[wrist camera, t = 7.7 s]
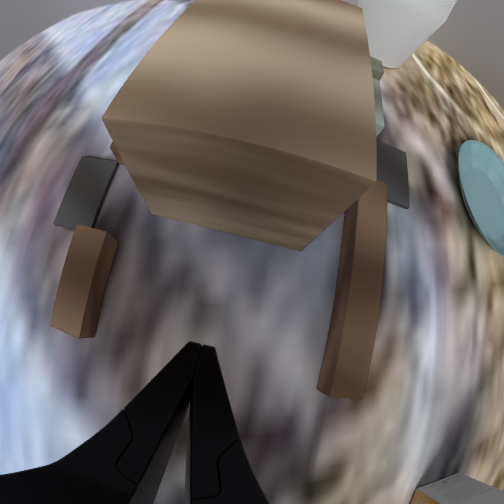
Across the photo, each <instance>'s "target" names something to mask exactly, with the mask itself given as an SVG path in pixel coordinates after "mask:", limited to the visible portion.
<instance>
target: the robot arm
mask: <svg viewBox="0 0 504 504" xmlns="http://www.w3.org/2000/svg"><path fill="white" fill-rule="evenodd" d="M189 404H190V408H189V420H188V435H187V453H186V476H185V504H269V502H268V500H267V498H266V497H265V495H264V493H263V491H262V489H261V487H260V485H259V483H258V482H257V480H256V478H255V475H254V473H253V471H252V469H251V467H250V465H249V462H248V459H247V457H246V454H245V451H244V448H243V445H242V442H241V439H239V438H240V436H239V432H238V429H237V426H236V422H235V419H234V416H233V412H232V409H231V405H230V402H229V398H228V394H227V391H226V387H225V383H224V380H223V376H222V372H221V368H220V364H219V361H218V357H217V353H216V349H215V347H213V346H208V345H201V344H200V343H196V342H192V341H190V342H188V343H187V344H186V345H185V346H184V347H183V348H182V349H181V350H180V351H179V352H178V353H177V354H176V355H175V356H174V357H173V358H172V360H171V361H170V362H169V363H168V364H167V365H166V366H165V367H164V368H163V369H162V370H161V371H160V372H159V373H158V374H157V375H156V376H155V377H154V378H153V379H152V380H151V381H150V382H149V383H148V384H147V385H146V386H145V387H144V388H143V389H142V390H141V391H140V392H139V393H138V394H137V395H136V396H135V398H134V399H133V400H132V401H131V402H130V403H129V404H128V405H127V406H126V407H125V408H124V410H122V411H121V412H120V413H119V414H118V415H117V416H116V417H115V418H113V419H112V420H111V421H110V422H109V423H108V424H107V425H106V426H105V427H104V428H102V429H101V430H100V431H99V432H97V433H96V434H95V435H94V436H92V437H91V438H90V439H88V440H87V441H86V442H84V443H83V444H81V445H80V446H79V447H77V448H76V449H74V450H73V451H72V452H70V453H69V454H67V455H66V456H65V457H63V458H61V459H60V460H58V461H56V462H54V463H52V464H49V465H46V466H42V467H38V468H33V469H29V470H24V471H20V472H15V473H9V474H4V475H0V504H153V502H154V499H155V497H156V494H157V491H158V489H159V486H160V483H161V480H162V478H163V475H164V472H165V469H166V467H167V464H168V461H169V459H170V456H171V453H172V450H173V448H174V445H175V442H176V440H177V437H178V434H179V432H180V429H181V426H182V423H183V421H184V418H185V415H186V413H187V410H188V407H189Z"/></svg>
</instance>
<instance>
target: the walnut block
mask: <svg viewBox="0 0 504 504" xmlns="http://www.w3.org/2000/svg"><path fill="white" fill-rule="evenodd" d="M102 120H103V122H104V124H105V126H106V128H107V130H108V132H109V134H110V136H111V138H112V140H113V142H114V144H115V146H116V148H117V150H118V152H119V154H120V156H121V158H122V160H123V162H124V164H125V166H126V168H127V170H128V172H129V174H130V176H131V177H132V179H133V181H134V183H135V185H136V187H137V189H138V190H139V192H140V194H141V196H142V198H143V200H144V201H145V203H146V205H147V207H148V209H149V210H150V212H151V214H152V215H157V216H161V217H165V218H169V219H173V220H177V221H181V222H185V223H190V224H194V225H198V226H202V227H206V228H210V229H214V230H218V231H222V232H226V233H230V234H234V235H238V236H242V237H246V238H250V239H254V240H258V241H262V242H266V243H270V244H274V245H278V246H282V247H285V248H289V249H293V250H297V251H302V250H303V249H304V248H305V247H306V246H307V245H308V244H309V243H310V242H312V241H313V240H314V239H315V238H316V237H317V236H318V235H319V234H320V233H322V232H323V231H324V230H325V229H326V228H327V227H328V226H329V225H330V224H331V223H333V222H334V221H335V220H336V219H337V218H338V217H339V216H340V215H341V214H342V213H343V212H345V211H346V210H347V209H348V208H349V207H350V206H351V205H352V204H353V203H354V202H355V201H356V200H357V199H359V198H360V197H361V196H362V195H363V194H364V193H365V192H366V191H367V190H368V189H369V188H370V187H371V186H372V185H373V184H375V183H376V178H377V145H376V117H375V101H374V88H373V77H372V68H371V60H370V52H369V45H368V38H367V32H366V26H365V21H364V15H363V10H362V8H360V7H358V6H355V5H352V4H350V3H347V2H344V1H341V0H196V1H194V2H193V3H192V4H191V5H190V6H189V7H188V8H187V9H186V10H185V11H184V12H183V13H182V14H181V15H180V16H179V17H178V19H177V20H176V21H175V22H174V23H173V24H172V25H171V26H170V27H169V28H168V29H167V30H166V32H165V33H164V34H163V35H162V36H161V37H160V38H159V39H158V41H157V42H156V43H155V44H154V45H153V47H152V48H151V49H150V50H149V51H148V53H147V54H146V55H145V56H144V58H143V59H142V60H141V62H140V63H139V64H138V65H137V67H136V68H135V69H134V71H133V72H132V73H131V75H130V76H129V78H128V79H127V80H126V82H125V83H124V85H123V86H122V87H121V89H120V90H119V92H118V93H117V95H116V96H115V98H114V99H113V101H112V102H111V104H110V105H109V107H108V109H107V110H106V112H105V113H104V115H103V117H102Z"/></svg>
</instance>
